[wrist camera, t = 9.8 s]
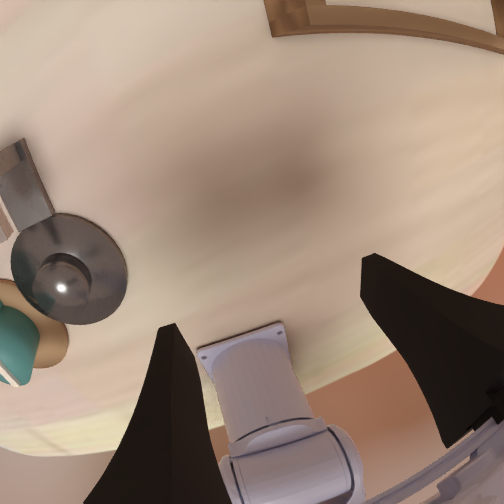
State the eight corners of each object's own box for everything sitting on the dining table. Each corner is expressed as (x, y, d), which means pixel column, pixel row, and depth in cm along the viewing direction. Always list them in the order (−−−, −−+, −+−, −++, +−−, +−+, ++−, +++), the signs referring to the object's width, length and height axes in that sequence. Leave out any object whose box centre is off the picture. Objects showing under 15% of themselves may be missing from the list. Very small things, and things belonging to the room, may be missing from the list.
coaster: (89, 352, 22) (88, 357, 22) (17, 369, 21) (16, 374, 21) (23, 263, 17) (20, 267, 16) (-45, 297, 16) (-48, 301, 15)
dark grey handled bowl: (147, 301, 21) (148, 359, 17) (54, 330, 20) (42, 383, 16) (64, 115, 13) (24, 133, 9) (-36, 179, 12) (-81, 215, 8)
